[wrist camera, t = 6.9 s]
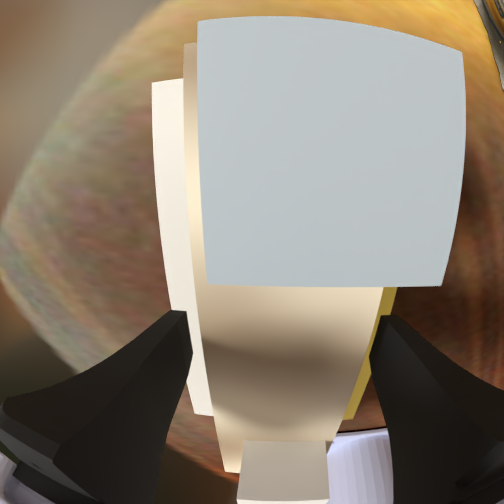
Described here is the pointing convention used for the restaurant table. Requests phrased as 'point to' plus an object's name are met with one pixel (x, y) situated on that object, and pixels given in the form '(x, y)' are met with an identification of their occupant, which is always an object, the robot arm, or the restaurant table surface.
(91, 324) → the restaurant table surface
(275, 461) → the block
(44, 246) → the restaurant table surface
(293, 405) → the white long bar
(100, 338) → the restaurant table surface
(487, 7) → the condiment
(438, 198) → the light grey square block
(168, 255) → the dock
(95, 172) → the restaurant table surface
